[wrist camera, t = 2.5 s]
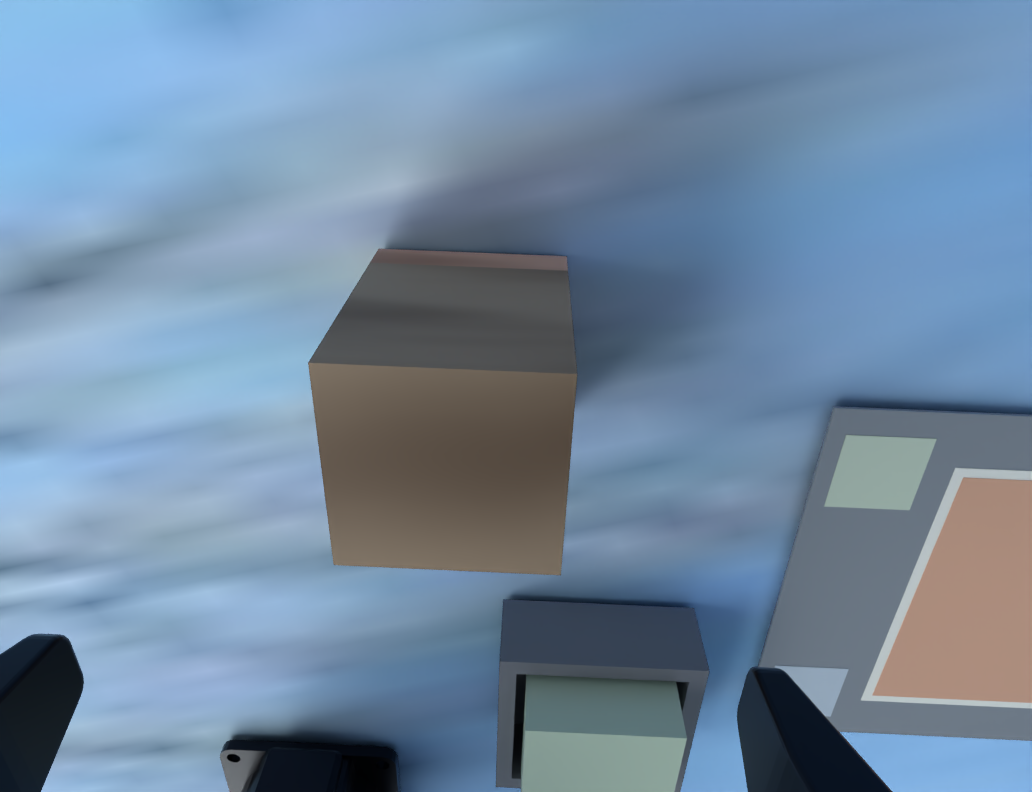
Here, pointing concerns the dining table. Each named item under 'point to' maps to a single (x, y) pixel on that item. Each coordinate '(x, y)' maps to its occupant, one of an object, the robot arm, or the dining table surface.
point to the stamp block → (449, 413)
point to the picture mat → (914, 576)
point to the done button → (601, 735)
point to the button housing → (594, 660)
